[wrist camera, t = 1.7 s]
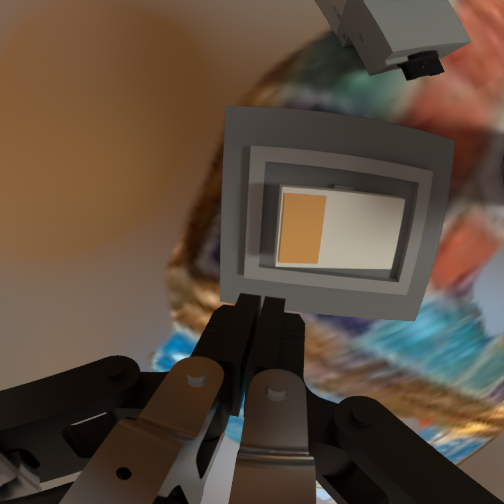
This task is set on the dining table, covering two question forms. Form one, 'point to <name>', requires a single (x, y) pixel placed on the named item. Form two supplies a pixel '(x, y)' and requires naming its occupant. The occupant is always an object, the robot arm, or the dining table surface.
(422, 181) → the box
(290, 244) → the breaker rocker
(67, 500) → the robot arm
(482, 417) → the dining table surface
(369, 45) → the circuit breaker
